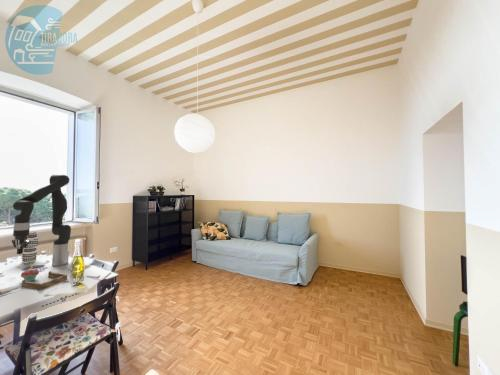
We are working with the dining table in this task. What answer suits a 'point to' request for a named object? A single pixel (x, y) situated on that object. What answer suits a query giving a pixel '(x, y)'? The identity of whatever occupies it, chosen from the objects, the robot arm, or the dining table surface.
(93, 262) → the dining table surface
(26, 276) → the cupcake
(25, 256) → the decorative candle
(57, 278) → the walnut corral
